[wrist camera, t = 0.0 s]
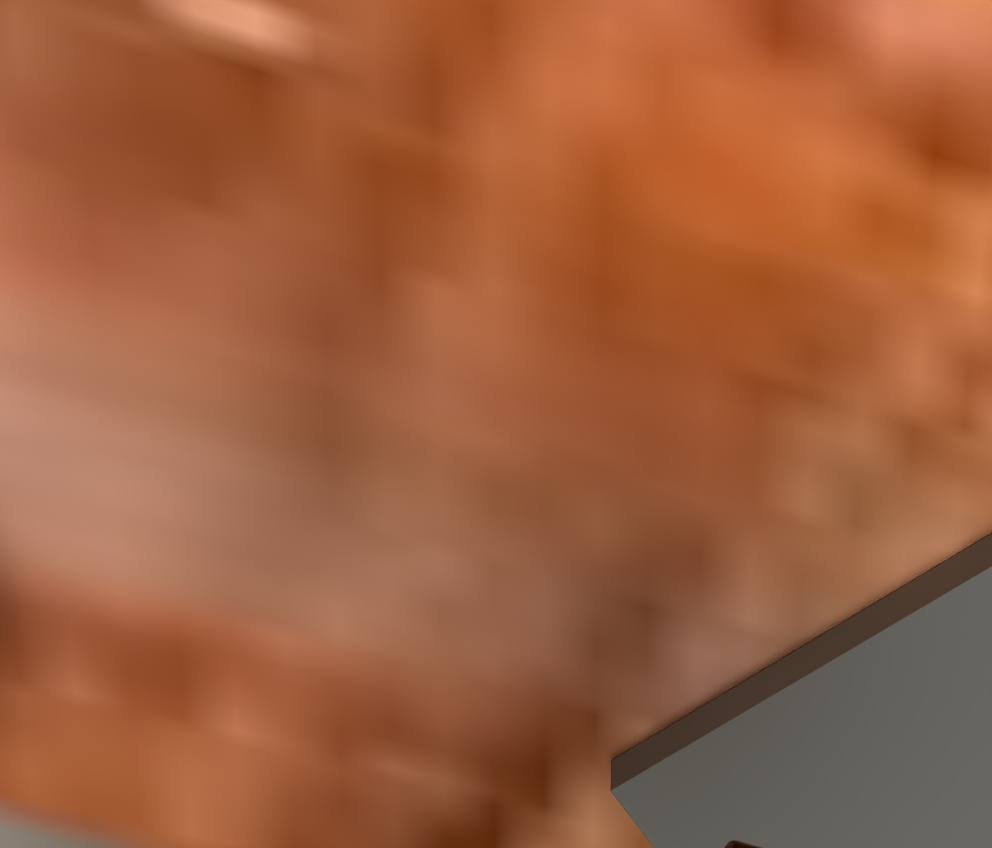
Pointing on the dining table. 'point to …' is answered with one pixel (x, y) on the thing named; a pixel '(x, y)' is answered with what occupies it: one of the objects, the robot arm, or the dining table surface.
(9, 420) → the dining table surface
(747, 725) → the charcoal board
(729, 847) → the robot arm
